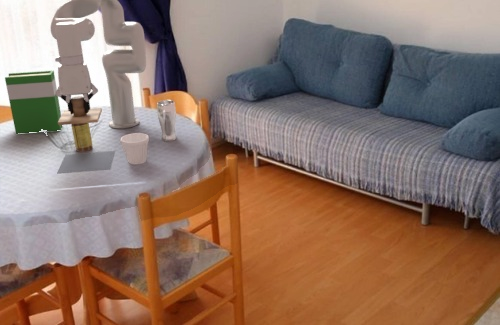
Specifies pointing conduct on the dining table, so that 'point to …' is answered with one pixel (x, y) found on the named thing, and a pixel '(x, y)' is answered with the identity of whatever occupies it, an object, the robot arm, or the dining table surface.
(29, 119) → the hardback book
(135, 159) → the cup
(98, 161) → the slate mat
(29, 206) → the dining table surface
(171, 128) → the beer glass
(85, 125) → the sauce bottle
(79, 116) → the oak lid
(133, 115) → the robot arm
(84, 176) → the dining table surface
